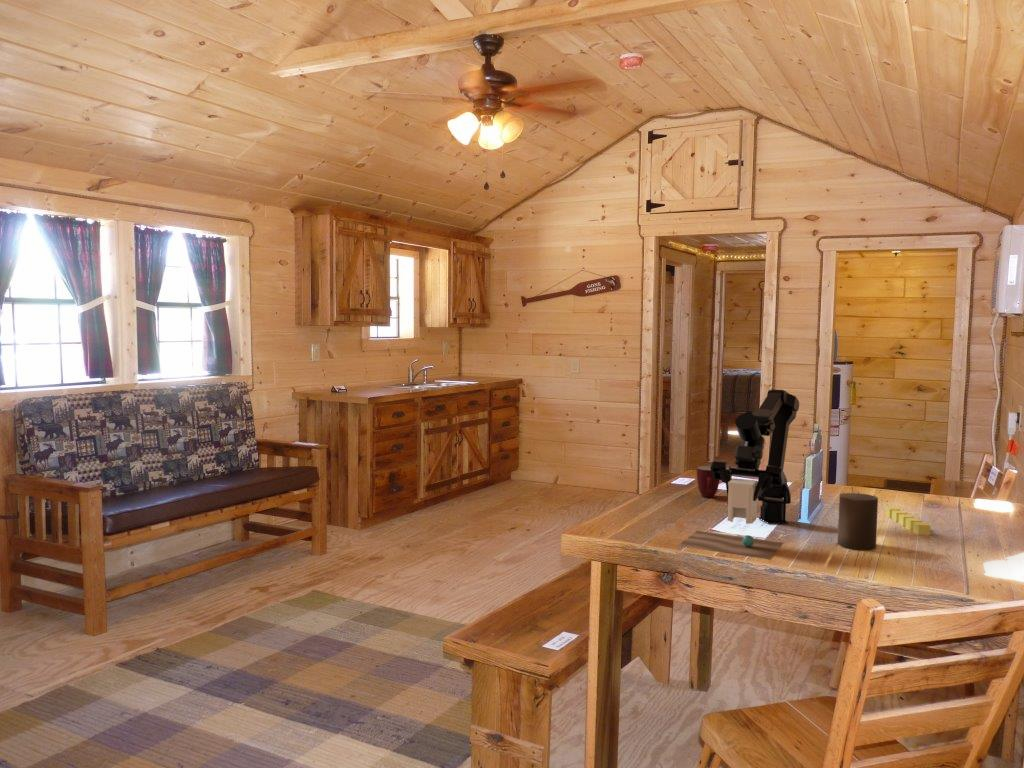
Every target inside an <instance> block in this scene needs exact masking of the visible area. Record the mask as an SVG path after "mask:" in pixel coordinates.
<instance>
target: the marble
mask: <svg viewBox="0 0 1024 768" xmlns="http://www.w3.org/2000/svg"><path fill="white" fill-rule="evenodd" d="M742 537H743V540H742V542H743V544H744V545H745V546H747V547H750V546H752V545H753V544H754V539H755V538H754V537H753V536H751V535H744V536H742Z"/></svg>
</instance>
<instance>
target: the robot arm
mask: <svg viewBox="0 0 1024 768" xmlns="http://www.w3.org/2000/svg"><path fill="white" fill-rule="evenodd" d="M799 409H800V401H799V399H798V397H797V396H796V395H793V394H791V393H789V392H787V391H786V390H785V389H775V388H773V389H772V388H771V389H768V390H767V395H766V397H765V399H764V400H763V402H762V404H761V405H759V408H758V409H756V410H753V411H752V410H745V412H744V413H742V414H739V416H737V418H735V420H734V424H735V427H736V431H737V433H738V436H739V439H740V440H742V444H741V445H736V446H735V451H734V459H735V461H734V464H735V465H736V466H732V465H729V464H728V462H727V461H723V460H713V461H712V462H711V464H710V468H711V472H712V475H713V478H714V479H715V480H719V481H721V482H722V483H724V484H725V489H726V495H727V497H728V488H729V485H728V482H729V481H731V480H732V479H733V475H734V476H740V477H747V478H748V477H750V478H755V479H756V478H758V480H757V481H758V483H757V486H756V489H755V492H754V498H753V500H754V501H756V500H757V502H759V501H760V502H761V505H760V516H759V517H758V519H759V520H760V519H762V520H764V521H766V522H768V523H767V524H769V523H777V524H788V523H789V521H788V520H786V515H787V512H786V511H787V509H786V508H787V505H788V504H789V505H790V504H791V503H792V502H791V501H792V498H791V497H792V495H791V492H790V488H789V485H788V479H787V476H786V474H785V472H784V467H785V460H786V451H787V444H788V436H789V429H790V425H791V424H792V422H794V420H795V419H796V418H797V412H798V411H799ZM765 436H766V437H770V436H771V440H770V447H769V454H768V460H767V461H768V462H767V465H766V468H765V469H763V470H762V469H760V466H761V464H762V459H763V455H764V448H765V443H766V442H765V441H766V440H765ZM762 520H761V521H762ZM764 521H763V522H764ZM766 522H765V523H766ZM787 522H788V523H787Z"/></svg>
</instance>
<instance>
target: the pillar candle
mask: <svg viewBox="0 0 1024 768" xmlns="http://www.w3.org/2000/svg"><path fill="white" fill-rule="evenodd" d="M878 500H879V498H878V496H875V495H871V494H867V493H860V491H857V493H855V492H845V493H844V492H843V493H839V502H838V503H839V504H838V520H837V521H838V523H837V524H838V525H837V544H838V545H839V546H840V547H843V548H846V549H850V550H858V551H873V550H875V549H877V536H878V535H877V526H878V503H879V501H878Z"/></svg>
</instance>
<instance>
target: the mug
mask: <svg viewBox="0 0 1024 768" xmlns="http://www.w3.org/2000/svg"><path fill="white" fill-rule="evenodd" d="M710 467H711V465H710V466H709V465H707V466H706V465H704V466H698V467H696V481H697V487H698V488H697V489H698V491H699V493H700V495H701V497H703V498H710V499H712V498H714V497H715V495H716V493H717V492H718V490H719V484H720V480H715V479H714V478H713V475H712V472H711V468H710Z"/></svg>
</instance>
